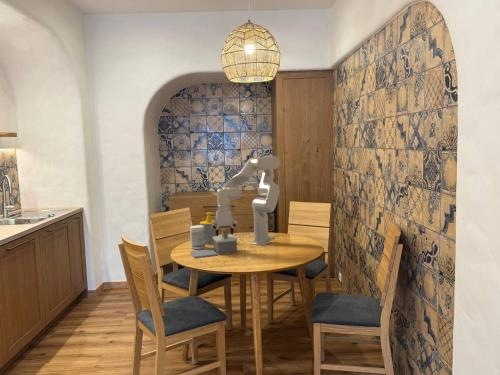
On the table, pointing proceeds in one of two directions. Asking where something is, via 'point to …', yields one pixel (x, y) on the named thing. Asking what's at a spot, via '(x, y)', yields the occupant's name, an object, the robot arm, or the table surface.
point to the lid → (224, 237)
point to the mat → (203, 253)
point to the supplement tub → (197, 237)
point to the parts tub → (225, 247)
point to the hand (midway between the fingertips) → (224, 234)
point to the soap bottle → (209, 229)
